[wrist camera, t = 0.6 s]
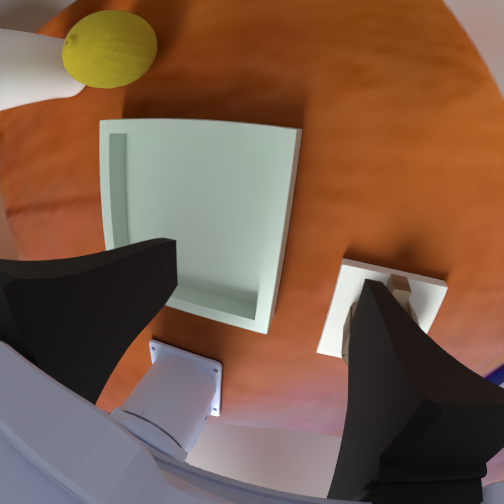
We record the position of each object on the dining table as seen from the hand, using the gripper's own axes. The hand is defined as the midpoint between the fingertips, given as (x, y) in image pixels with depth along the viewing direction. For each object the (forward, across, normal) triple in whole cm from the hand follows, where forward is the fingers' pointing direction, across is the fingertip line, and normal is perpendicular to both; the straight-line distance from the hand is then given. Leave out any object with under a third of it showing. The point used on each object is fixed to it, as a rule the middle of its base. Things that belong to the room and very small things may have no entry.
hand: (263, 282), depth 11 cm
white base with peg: (+10, -7, +7) cm, 14 cm away
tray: (+10, +8, +2) cm, 13 cm away
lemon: (+10, +12, -10) cm, 19 cm away
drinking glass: (+10, +20, -10) cm, 25 cm away
